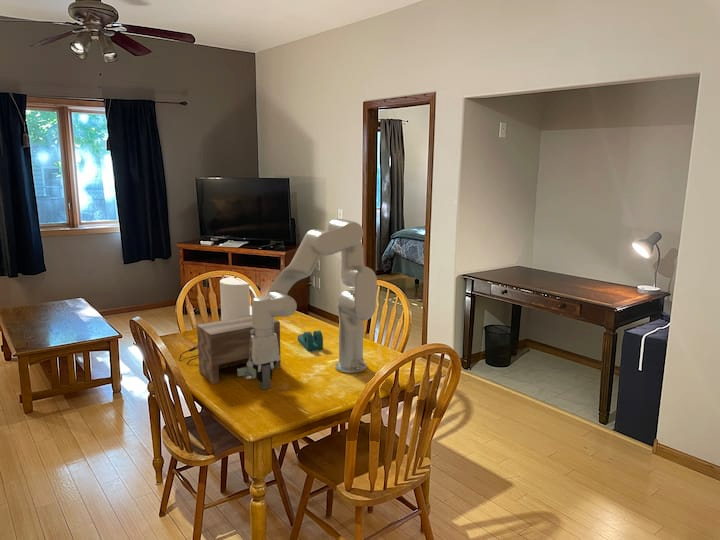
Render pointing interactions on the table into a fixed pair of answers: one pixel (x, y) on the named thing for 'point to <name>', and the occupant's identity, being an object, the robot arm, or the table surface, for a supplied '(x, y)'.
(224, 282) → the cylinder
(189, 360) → the sunglasses
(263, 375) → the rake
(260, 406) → the table surface
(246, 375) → the token
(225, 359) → the cabinet
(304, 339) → the bracket
